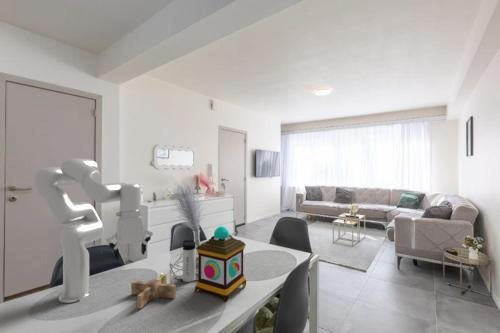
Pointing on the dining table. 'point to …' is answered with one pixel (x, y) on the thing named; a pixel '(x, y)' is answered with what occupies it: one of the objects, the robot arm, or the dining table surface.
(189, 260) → the travel mug
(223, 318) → the dining table surface
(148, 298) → the wooden cross piece
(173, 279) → the window posts
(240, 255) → the decorative lantern
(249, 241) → the dining table surface
